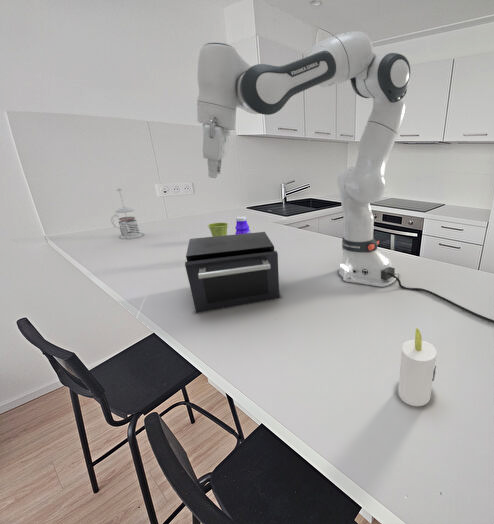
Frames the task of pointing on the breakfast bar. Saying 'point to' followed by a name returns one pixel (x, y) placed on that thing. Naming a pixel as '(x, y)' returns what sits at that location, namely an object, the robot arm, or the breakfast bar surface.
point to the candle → (417, 371)
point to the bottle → (241, 225)
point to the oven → (228, 246)
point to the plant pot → (218, 229)
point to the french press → (127, 223)
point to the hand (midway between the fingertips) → (214, 175)
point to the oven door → (233, 280)
